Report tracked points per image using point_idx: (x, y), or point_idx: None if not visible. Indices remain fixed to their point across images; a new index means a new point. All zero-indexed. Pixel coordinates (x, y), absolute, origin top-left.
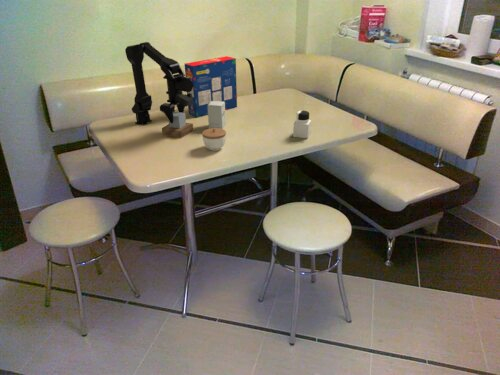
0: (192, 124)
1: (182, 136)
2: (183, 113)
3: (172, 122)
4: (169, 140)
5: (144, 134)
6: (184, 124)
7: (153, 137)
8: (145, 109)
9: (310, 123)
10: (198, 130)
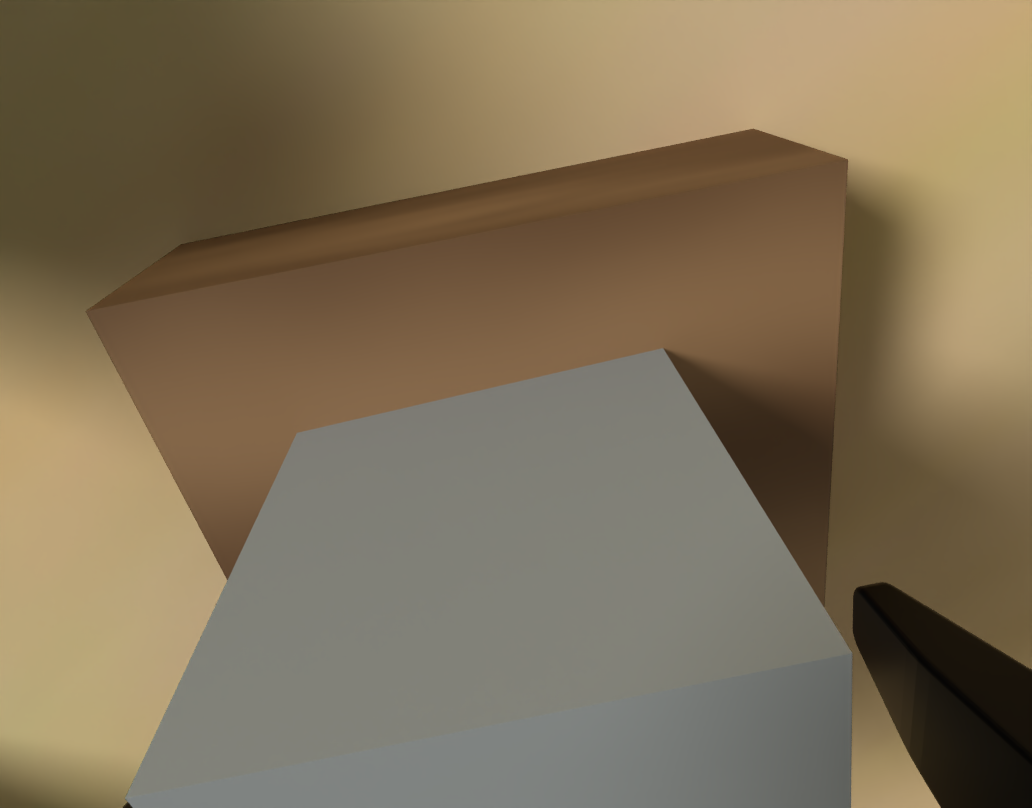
0: (117, 299)
1: (712, 140)
2: (248, 799)
3: (915, 599)
4: (993, 265)
5: (862, 753)
6: (377, 428)
7: (933, 597)
8: None
9: None
10: (71, 117)
